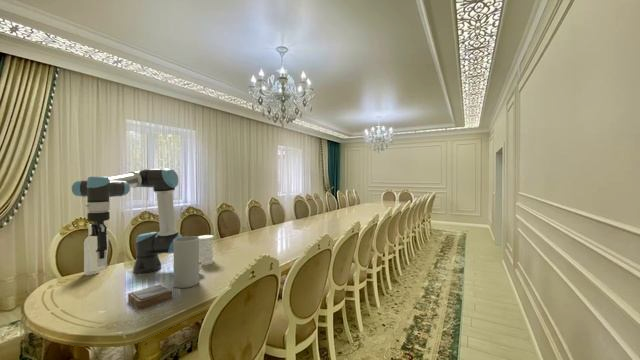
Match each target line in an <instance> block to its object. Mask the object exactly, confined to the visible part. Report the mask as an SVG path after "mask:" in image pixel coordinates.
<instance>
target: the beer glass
mask: <svg viewBox="0 0 640 360" xmlns="http://www.w3.org/2000/svg"><path fill="white" fill-rule="evenodd" d="M106 237H107V250H105V264H106V265H104V266H99V267H97V252H96V250H98V246H97V236H94V235H93V234H92V235H89V242H88V248H89V253H90V257H91V267H90V270H91V271H98V270H101V271H102V270H106V269H107V268H108V267H109V264H108V261H107V260H108V258H107V257H108V252H109V246H110V239H109V233H107V232H106ZM101 248H102V247H101Z"/></svg>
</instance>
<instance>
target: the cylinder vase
mask: <svg viewBox="0 0 640 360" xmlns="http://www.w3.org/2000/svg"><path fill="white" fill-rule="evenodd" d="M199 282H200V272H199V237H198V236H194V235H193V236H189V235H188V236H182V237H180V238H176V239H174V253H173V287H175V288H177V289H186V288H190V287H191V288H192V287H193V286H194V287H195V286H196V285H197V284H199Z"/></svg>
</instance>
